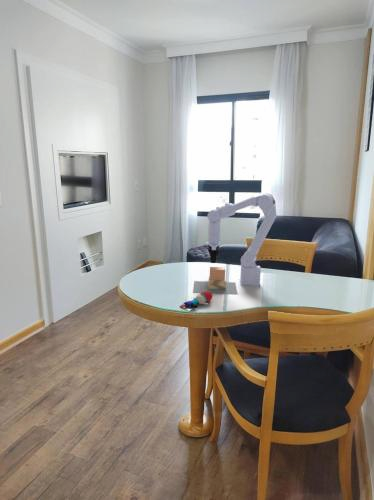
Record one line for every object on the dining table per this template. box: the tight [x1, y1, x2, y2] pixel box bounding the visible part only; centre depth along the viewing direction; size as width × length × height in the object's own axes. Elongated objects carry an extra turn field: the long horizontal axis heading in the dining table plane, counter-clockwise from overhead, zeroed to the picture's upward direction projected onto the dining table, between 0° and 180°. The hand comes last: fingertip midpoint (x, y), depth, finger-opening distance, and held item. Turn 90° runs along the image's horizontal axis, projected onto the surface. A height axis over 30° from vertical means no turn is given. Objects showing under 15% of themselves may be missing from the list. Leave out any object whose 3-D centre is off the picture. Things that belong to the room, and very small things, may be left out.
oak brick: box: [208, 275, 227, 289], centre depth 169 cm, size 8×6×4 cm
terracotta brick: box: [209, 266, 226, 280], centre depth 168 cm, size 7×4×5 cm, turn 87°
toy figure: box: [181, 292, 213, 310], centre depth 149 cm, size 8×5×15 cm
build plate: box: [192, 280, 238, 295], centre depth 168 cm, size 20×16×1 cm
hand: (213, 260), depth 180 cm, fingers open, 7 cm apart
